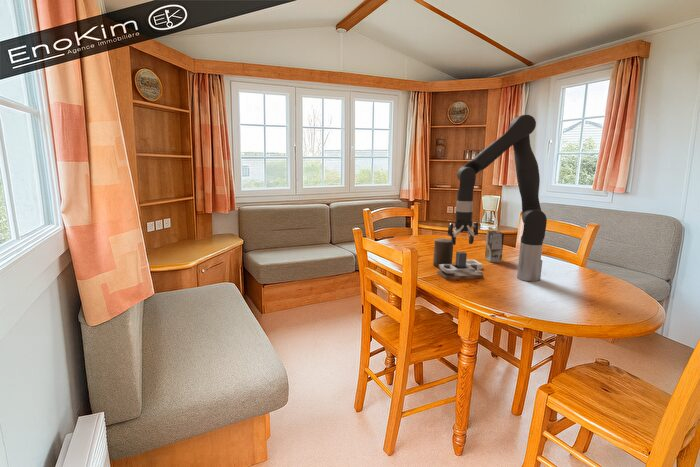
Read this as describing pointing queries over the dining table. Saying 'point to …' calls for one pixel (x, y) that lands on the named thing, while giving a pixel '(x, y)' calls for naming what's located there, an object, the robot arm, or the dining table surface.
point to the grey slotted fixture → (459, 272)
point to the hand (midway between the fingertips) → (462, 244)
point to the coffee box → (494, 246)
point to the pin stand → (469, 262)
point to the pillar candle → (442, 252)
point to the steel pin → (460, 260)
